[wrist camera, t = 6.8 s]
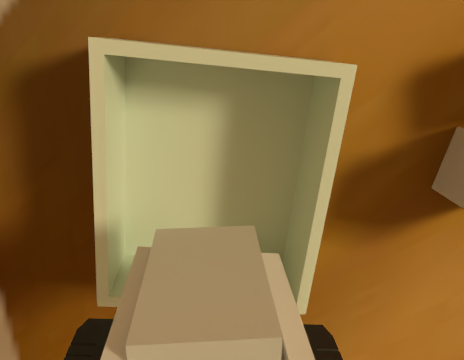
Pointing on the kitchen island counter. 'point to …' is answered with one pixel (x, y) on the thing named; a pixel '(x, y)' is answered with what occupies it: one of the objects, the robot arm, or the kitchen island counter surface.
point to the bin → (212, 150)
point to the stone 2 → (452, 171)
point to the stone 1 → (205, 298)
